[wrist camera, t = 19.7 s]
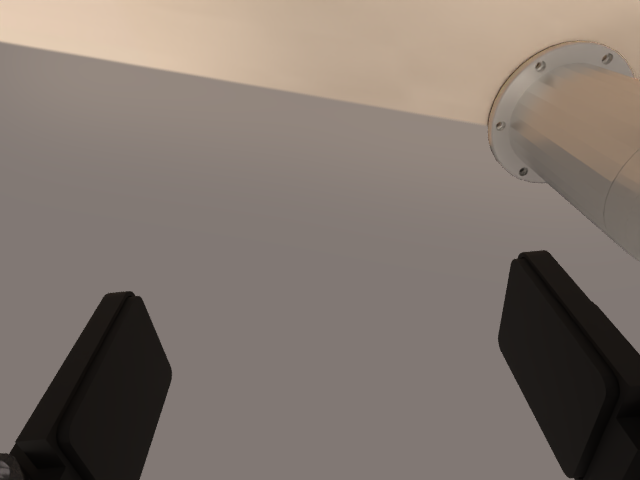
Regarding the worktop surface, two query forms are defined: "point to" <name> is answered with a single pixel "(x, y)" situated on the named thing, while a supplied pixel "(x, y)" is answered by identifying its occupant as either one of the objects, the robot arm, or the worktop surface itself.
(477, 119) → the worktop surface
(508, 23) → the worktop surface
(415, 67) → the worktop surface
